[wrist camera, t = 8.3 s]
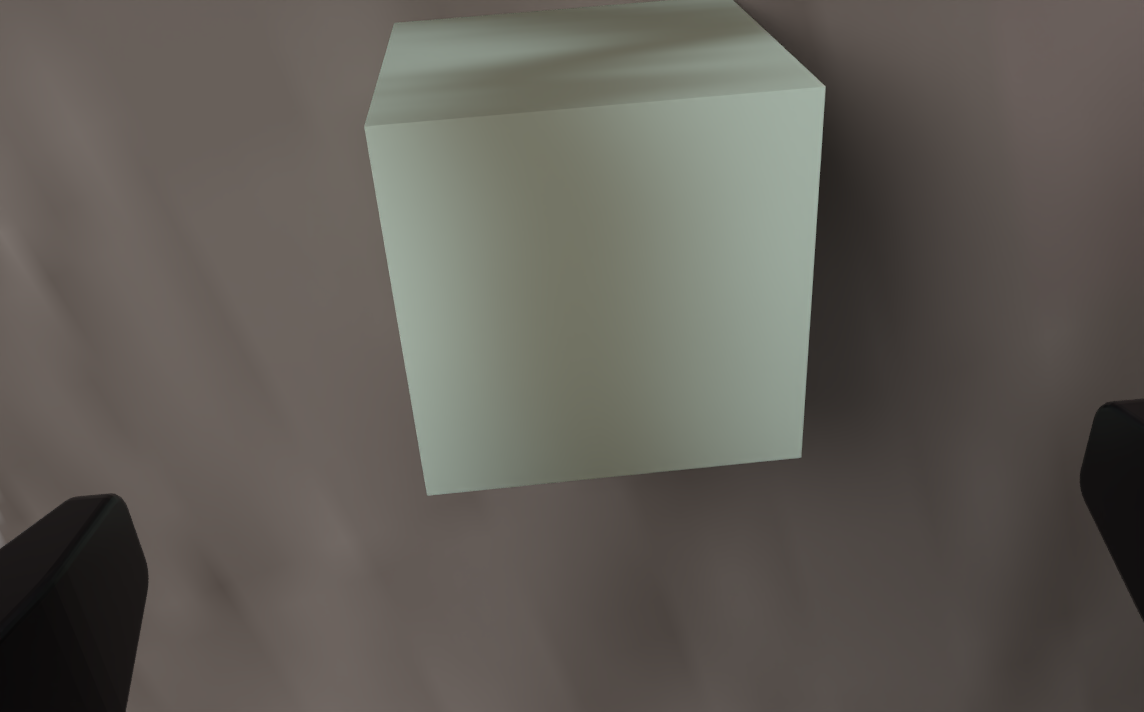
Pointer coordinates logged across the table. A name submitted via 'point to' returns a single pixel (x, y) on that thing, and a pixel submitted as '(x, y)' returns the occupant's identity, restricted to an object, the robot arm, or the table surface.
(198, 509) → the table surface
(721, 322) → the sage block
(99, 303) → the table surface
